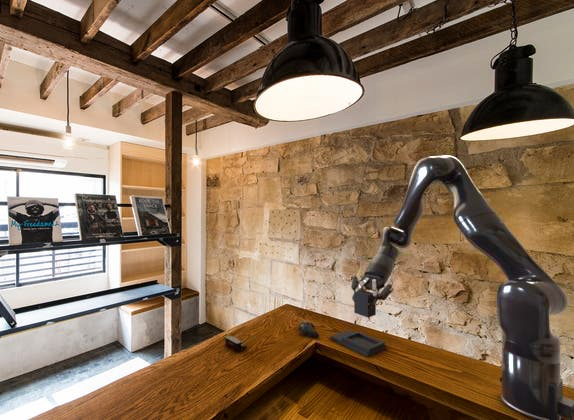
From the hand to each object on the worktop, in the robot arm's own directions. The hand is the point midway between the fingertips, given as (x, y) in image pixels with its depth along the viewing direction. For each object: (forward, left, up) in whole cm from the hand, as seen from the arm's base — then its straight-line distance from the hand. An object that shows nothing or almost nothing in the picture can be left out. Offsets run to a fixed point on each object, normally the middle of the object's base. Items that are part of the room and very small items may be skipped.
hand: (362, 303), depth 96 cm
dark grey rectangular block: (0, -2, -4) cm, 5 cm away
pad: (+2, -1, -16) cm, 16 cm away
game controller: (+17, +8, -16) cm, 25 cm away
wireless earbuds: (+21, +42, -16) cm, 50 cm away
